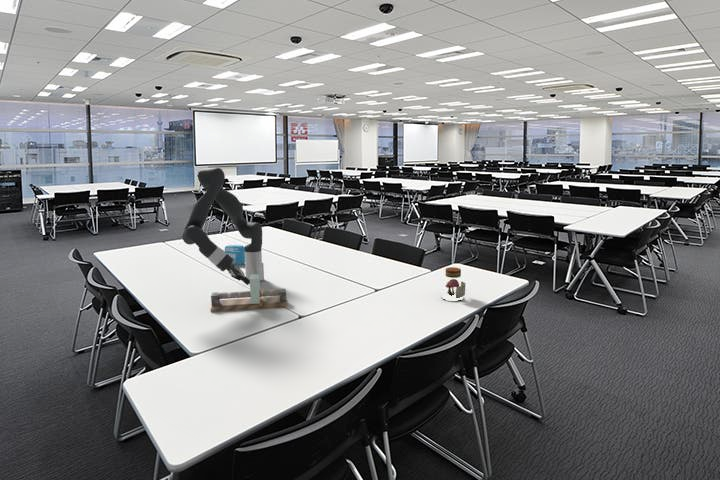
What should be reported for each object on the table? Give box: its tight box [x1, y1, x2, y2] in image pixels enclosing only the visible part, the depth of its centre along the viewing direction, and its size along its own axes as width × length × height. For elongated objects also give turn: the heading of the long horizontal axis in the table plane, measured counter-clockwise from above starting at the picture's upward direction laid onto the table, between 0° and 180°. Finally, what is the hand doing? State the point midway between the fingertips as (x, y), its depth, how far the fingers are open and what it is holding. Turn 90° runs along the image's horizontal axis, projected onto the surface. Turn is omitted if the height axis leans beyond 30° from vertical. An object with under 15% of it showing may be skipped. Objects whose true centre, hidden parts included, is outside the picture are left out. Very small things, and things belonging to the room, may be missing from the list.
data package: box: [224, 244, 245, 265], centre depth 289 cm, size 12×4×12 cm, turn 75°
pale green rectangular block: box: [249, 274, 261, 304], centre depth 209 cm, size 4×8×12 cm, turn 10°
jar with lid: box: [445, 266, 466, 298], centre depth 218 cm, size 12×13×15 cm
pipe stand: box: [210, 288, 288, 313], centre depth 210 cm, size 34×12×7 cm, turn 100°
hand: (249, 283), depth 208 cm, fingers closed
